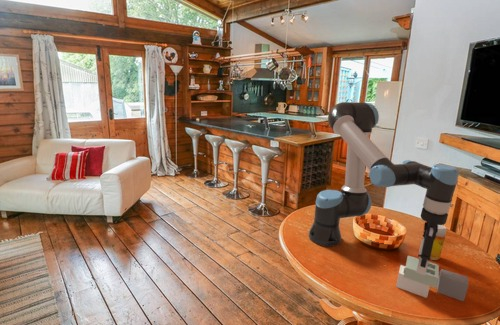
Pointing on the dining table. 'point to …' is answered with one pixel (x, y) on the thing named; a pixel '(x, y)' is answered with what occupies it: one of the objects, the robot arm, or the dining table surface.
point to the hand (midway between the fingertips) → (421, 263)
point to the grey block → (425, 279)
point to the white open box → (411, 284)
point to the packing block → (452, 284)
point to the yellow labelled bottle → (438, 243)
